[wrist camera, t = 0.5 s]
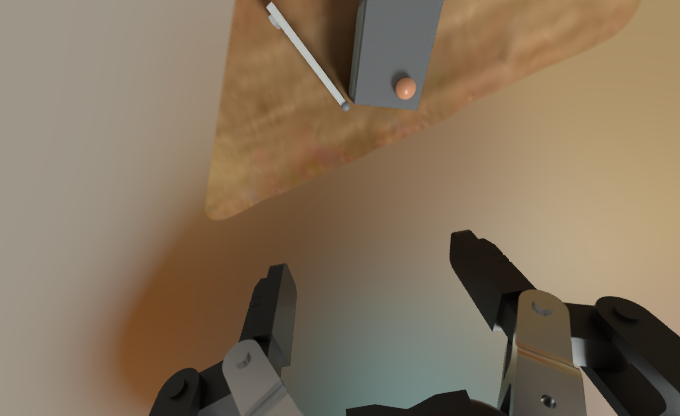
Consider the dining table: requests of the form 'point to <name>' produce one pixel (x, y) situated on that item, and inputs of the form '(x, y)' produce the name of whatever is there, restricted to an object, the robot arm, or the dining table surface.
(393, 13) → the camera body
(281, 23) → the side door
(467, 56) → the dining table surface
